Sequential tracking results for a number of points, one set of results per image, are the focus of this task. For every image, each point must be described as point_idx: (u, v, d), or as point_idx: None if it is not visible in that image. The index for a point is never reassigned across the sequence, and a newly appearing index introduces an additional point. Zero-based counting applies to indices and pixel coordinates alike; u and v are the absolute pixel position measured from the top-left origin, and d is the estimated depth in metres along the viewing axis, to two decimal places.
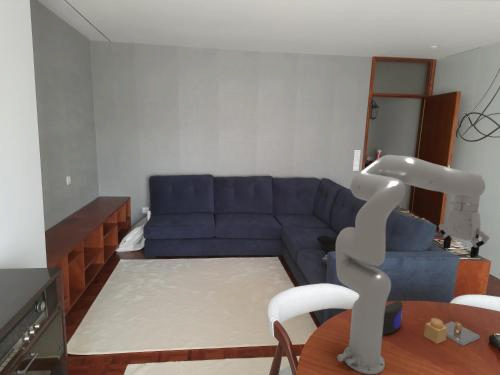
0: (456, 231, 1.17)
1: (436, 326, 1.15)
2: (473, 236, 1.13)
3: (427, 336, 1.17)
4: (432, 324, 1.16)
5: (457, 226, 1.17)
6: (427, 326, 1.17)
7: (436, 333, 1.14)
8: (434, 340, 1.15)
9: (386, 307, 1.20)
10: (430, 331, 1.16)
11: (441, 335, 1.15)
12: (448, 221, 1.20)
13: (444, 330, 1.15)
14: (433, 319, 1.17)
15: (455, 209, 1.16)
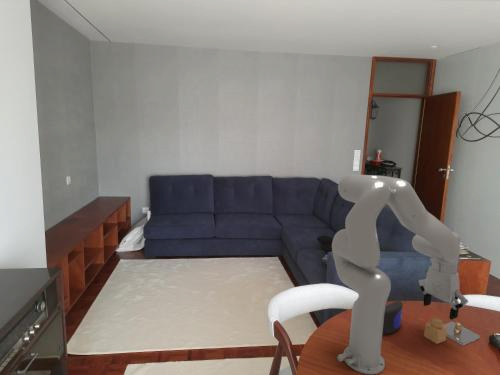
0: (435, 291, 1.14)
1: (436, 326, 1.15)
2: (452, 298, 1.09)
3: (427, 336, 1.17)
4: (432, 324, 1.16)
5: (436, 286, 1.13)
6: (427, 326, 1.17)
7: (436, 333, 1.14)
8: (434, 340, 1.15)
9: (386, 307, 1.20)
10: (430, 331, 1.16)
11: (441, 335, 1.15)
12: (427, 279, 1.16)
13: (444, 330, 1.15)
14: (433, 319, 1.17)
15: (433, 269, 1.13)
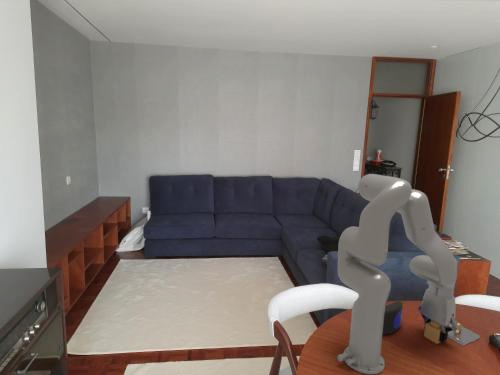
0: (431, 314, 1.15)
1: (436, 326, 1.15)
2: (448, 322, 1.11)
3: (427, 336, 1.17)
4: (432, 324, 1.16)
5: (433, 309, 1.14)
6: (427, 326, 1.17)
7: (436, 333, 1.14)
8: (434, 340, 1.15)
9: (386, 307, 1.20)
10: (430, 331, 1.16)
11: None
12: (424, 301, 1.18)
13: None
14: None
15: (430, 292, 1.14)
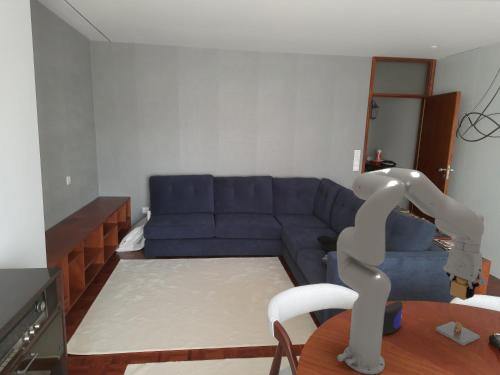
0: (457, 271, 1.15)
1: (462, 283, 1.15)
2: (475, 277, 1.11)
3: (453, 293, 1.17)
4: (458, 281, 1.16)
5: (459, 265, 1.14)
6: (453, 283, 1.17)
7: (463, 289, 1.14)
8: (461, 297, 1.15)
9: (386, 307, 1.20)
10: (456, 288, 1.16)
11: None
12: (449, 259, 1.18)
13: None
14: None
15: (456, 248, 1.14)
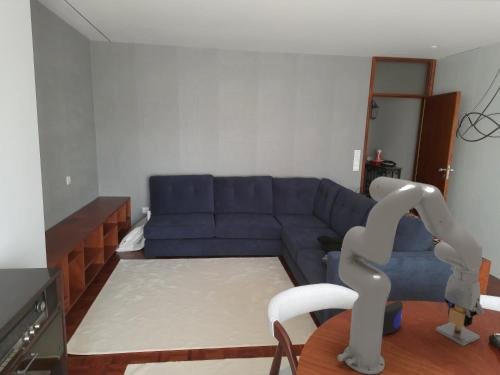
0: (456, 299, 1.17)
1: (461, 310, 1.17)
2: (473, 306, 1.13)
3: (452, 321, 1.19)
4: (457, 309, 1.18)
5: (457, 294, 1.16)
6: (452, 311, 1.19)
7: (461, 317, 1.16)
8: (459, 324, 1.17)
9: (386, 307, 1.20)
10: (455, 316, 1.18)
11: None
12: (448, 287, 1.20)
13: None
14: None
15: (455, 277, 1.16)
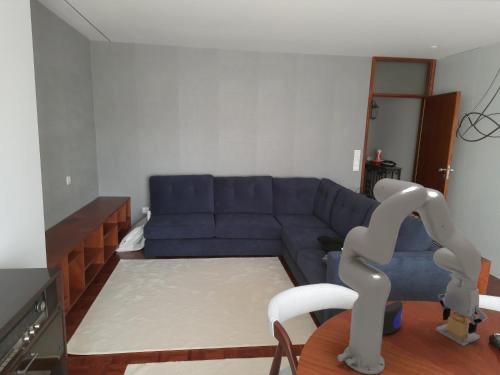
0: (454, 305, 1.17)
1: (459, 319, 1.17)
2: (472, 313, 1.13)
3: (450, 329, 1.20)
4: (455, 317, 1.18)
5: (456, 301, 1.17)
6: (450, 319, 1.20)
7: (459, 326, 1.17)
8: (457, 333, 1.17)
9: (386, 307, 1.20)
10: (453, 324, 1.19)
11: (464, 328, 1.17)
12: (447, 293, 1.20)
13: (467, 323, 1.17)
14: (456, 313, 1.20)
15: (454, 284, 1.17)
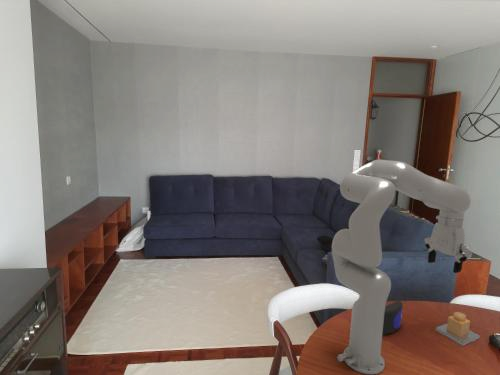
0: (440, 246, 1.17)
1: (459, 319, 1.17)
2: (456, 251, 1.13)
3: (450, 329, 1.20)
4: (455, 317, 1.18)
5: (442, 240, 1.17)
6: (450, 319, 1.20)
7: (459, 326, 1.17)
8: (457, 333, 1.17)
9: (386, 307, 1.20)
10: (453, 324, 1.19)
11: (464, 328, 1.17)
12: (433, 235, 1.20)
13: (467, 323, 1.17)
14: (456, 313, 1.20)
15: (440, 223, 1.17)
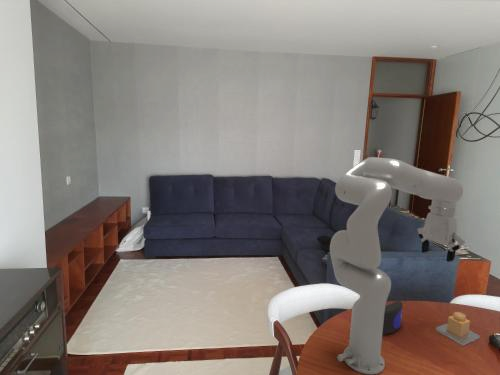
0: (433, 235, 1.18)
1: (459, 319, 1.17)
2: (449, 240, 1.14)
3: (450, 329, 1.20)
4: (455, 317, 1.18)
5: (434, 230, 1.18)
6: (450, 319, 1.20)
7: (459, 326, 1.17)
8: (457, 333, 1.17)
9: (386, 307, 1.20)
10: (453, 324, 1.19)
11: (464, 328, 1.17)
12: (426, 225, 1.21)
13: (467, 323, 1.17)
14: (456, 313, 1.20)
15: (432, 213, 1.18)
